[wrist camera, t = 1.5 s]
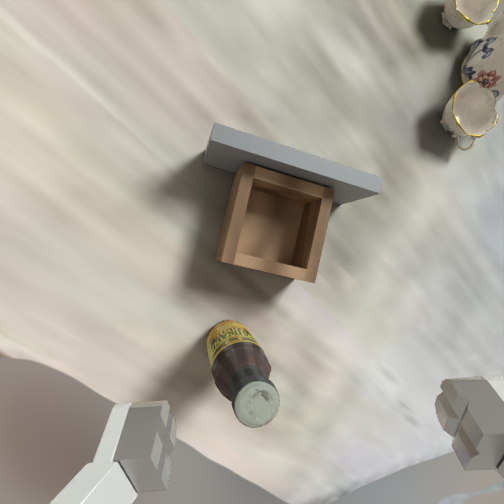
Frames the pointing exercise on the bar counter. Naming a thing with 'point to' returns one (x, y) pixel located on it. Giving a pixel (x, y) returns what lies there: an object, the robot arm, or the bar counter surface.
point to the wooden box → (275, 223)
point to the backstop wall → (288, 163)
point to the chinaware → (476, 70)
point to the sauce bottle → (242, 373)
